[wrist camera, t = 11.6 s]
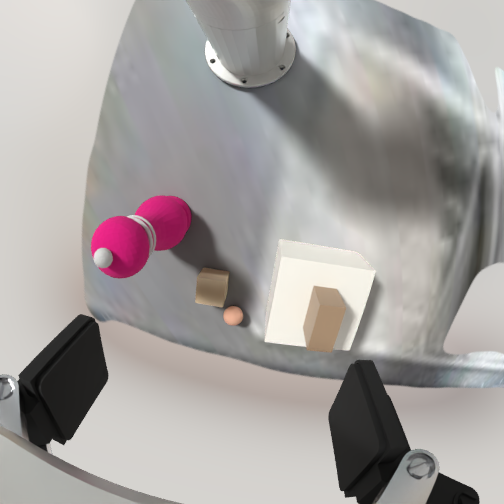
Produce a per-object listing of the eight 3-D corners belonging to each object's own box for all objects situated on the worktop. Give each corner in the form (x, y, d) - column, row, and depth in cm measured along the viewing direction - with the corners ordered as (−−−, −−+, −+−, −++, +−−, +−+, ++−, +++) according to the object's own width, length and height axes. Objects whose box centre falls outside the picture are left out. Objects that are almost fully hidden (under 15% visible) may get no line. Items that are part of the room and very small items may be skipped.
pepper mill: (200, 235, 41) (146, 294, 22) (156, 245, 42) (84, 304, 23) (188, 186, 39) (118, 208, 20) (143, 199, 40) (57, 230, 21)
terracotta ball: (225, 301, 44) (223, 310, 41) (245, 304, 44) (243, 313, 41) (224, 317, 45) (221, 327, 42) (242, 320, 45) (240, 330, 42)
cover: (279, 238, 41) (283, 272, 28) (357, 252, 40) (390, 287, 28) (265, 312, 44) (263, 365, 32) (338, 321, 44) (357, 373, 32)
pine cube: (203, 267, 43) (197, 277, 39) (229, 271, 43) (225, 281, 39) (201, 291, 44) (195, 302, 40) (226, 295, 44) (222, 307, 40)
